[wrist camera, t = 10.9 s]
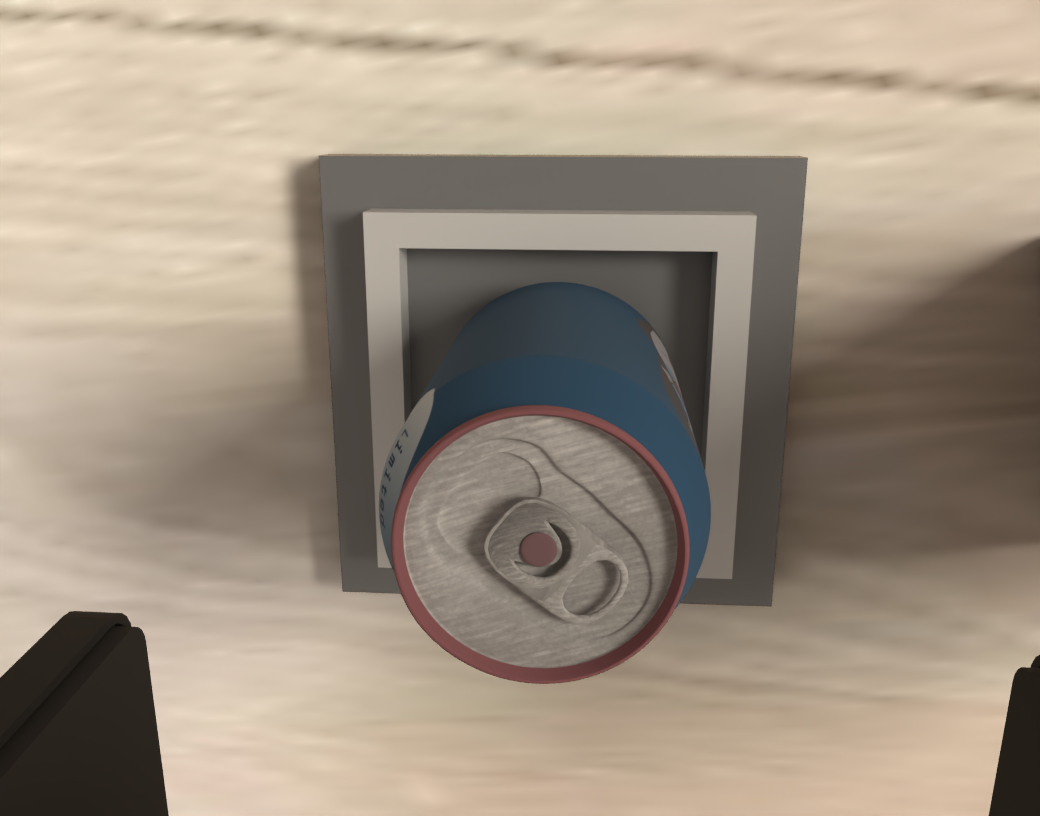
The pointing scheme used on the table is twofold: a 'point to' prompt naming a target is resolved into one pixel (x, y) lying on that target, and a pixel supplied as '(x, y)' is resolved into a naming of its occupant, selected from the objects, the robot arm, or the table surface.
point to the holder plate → (583, 260)
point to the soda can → (547, 489)
